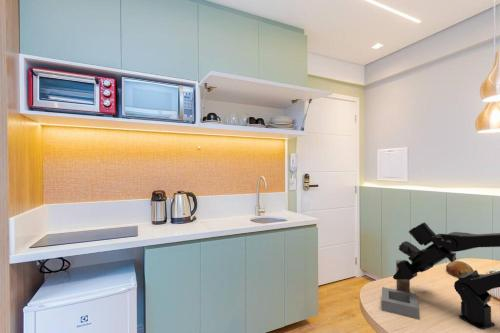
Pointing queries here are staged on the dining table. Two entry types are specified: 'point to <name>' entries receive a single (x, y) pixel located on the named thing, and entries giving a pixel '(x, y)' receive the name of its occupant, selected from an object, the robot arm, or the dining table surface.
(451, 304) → the dining table surface
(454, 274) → the bread roll
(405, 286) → the post
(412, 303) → the grey square frame
